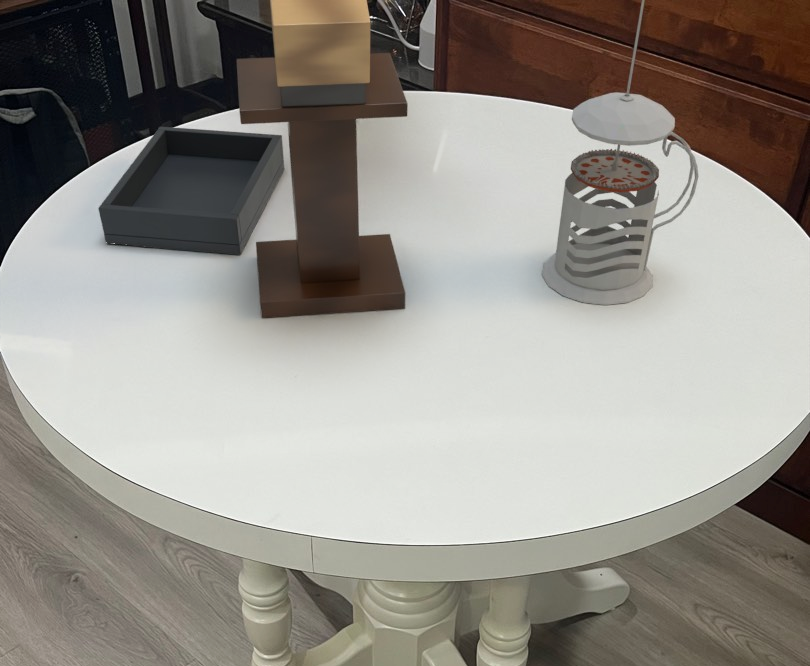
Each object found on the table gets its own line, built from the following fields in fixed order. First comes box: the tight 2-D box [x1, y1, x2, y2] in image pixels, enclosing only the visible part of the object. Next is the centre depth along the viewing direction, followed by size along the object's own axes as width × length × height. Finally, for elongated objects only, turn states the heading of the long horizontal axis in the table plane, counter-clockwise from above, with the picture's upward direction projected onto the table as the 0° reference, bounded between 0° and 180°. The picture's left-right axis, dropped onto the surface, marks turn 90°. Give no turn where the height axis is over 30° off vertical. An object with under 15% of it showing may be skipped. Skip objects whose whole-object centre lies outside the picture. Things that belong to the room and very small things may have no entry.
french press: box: [541, 0, 699, 306], centre depth 79 cm, size 10×12×25 cm
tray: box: [97, 126, 285, 256], centre depth 95 cm, size 18×13×4 cm
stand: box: [236, 52, 409, 319], centre depth 80 cm, size 12×10×17 cm
